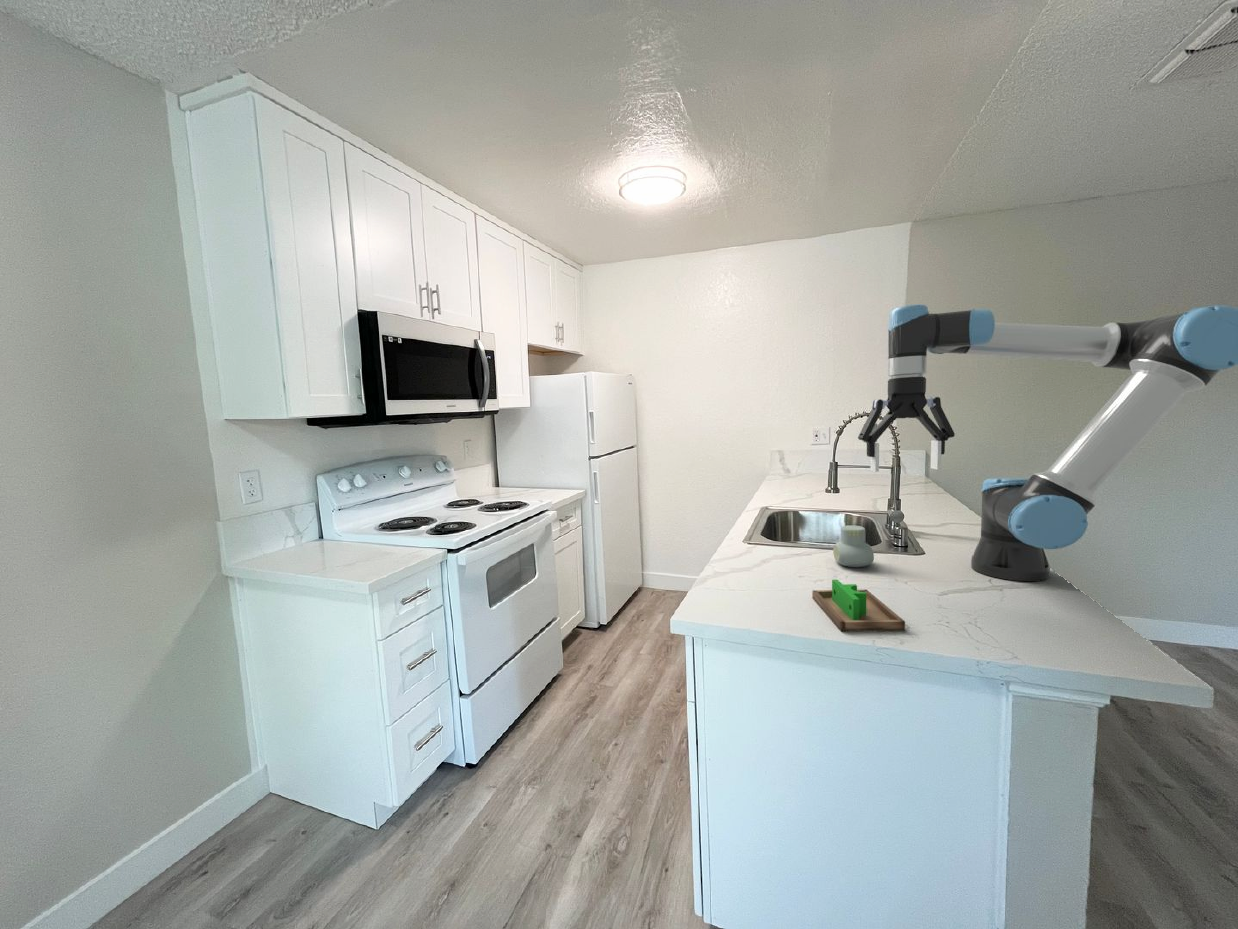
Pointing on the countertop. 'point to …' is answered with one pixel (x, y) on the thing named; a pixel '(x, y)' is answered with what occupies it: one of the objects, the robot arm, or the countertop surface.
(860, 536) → the air freshener
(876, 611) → the tray
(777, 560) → the countertop surface
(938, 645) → the countertop surface
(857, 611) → the pipe clamp
